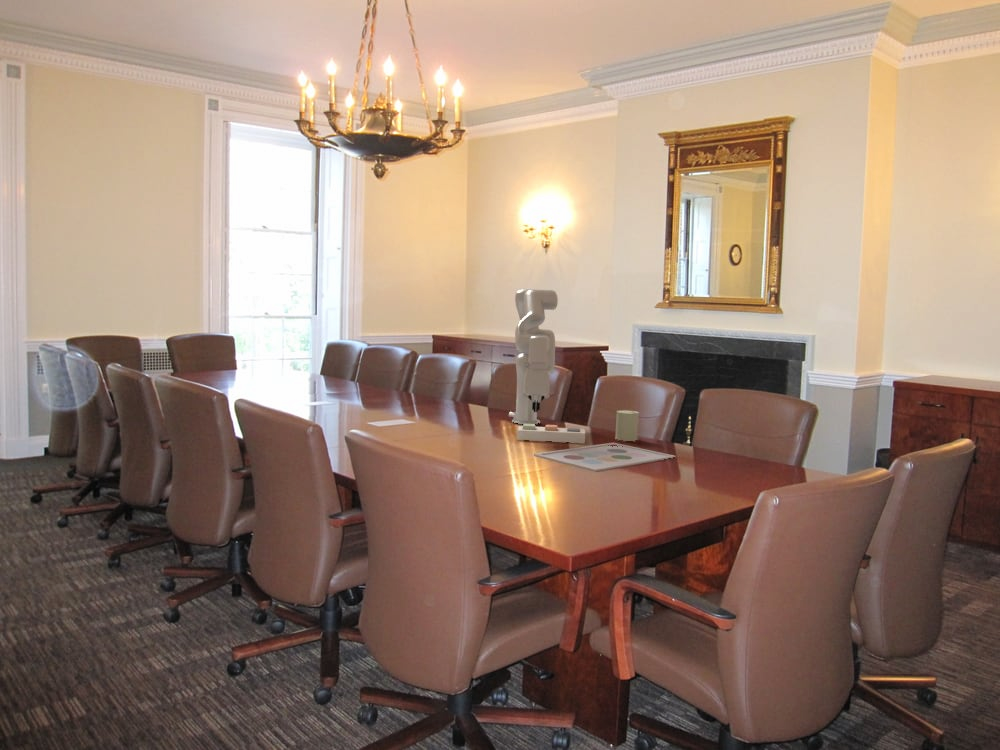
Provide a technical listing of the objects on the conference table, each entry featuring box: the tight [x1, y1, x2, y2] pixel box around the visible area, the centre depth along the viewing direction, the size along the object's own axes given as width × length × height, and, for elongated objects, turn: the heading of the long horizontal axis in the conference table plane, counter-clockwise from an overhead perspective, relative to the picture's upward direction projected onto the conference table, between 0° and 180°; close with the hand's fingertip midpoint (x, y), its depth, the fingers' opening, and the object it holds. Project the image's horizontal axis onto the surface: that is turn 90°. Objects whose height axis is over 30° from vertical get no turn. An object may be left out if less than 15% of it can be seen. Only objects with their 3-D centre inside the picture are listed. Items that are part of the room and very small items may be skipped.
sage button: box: [522, 424, 536, 430], centre depth 339 cm, size 5×5×4 cm
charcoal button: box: [567, 427, 581, 432], centre depth 338 cm, size 5×5×4 cm
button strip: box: [516, 425, 586, 444], centre depth 339 cm, size 27×11×4 cm, turn 86°
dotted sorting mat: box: [533, 442, 676, 472], centre depth 307 cm, size 30×1×43 cm
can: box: [614, 409, 640, 442], centre depth 344 cm, size 9×9×12 cm
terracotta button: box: [544, 424, 558, 431], centre depth 339 cm, size 5×5×4 cm
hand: (535, 411), depth 338 cm, fingers closed
